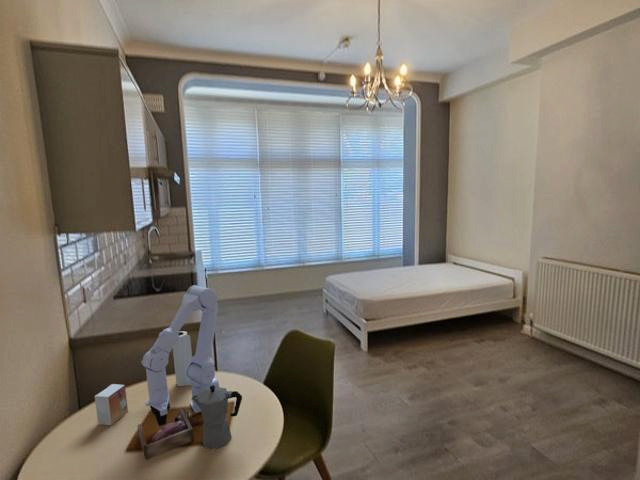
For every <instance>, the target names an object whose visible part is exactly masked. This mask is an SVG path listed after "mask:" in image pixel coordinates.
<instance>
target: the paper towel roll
mask: <svg viewBox="0 0 640 480" xmlns="http://www.w3.org/2000/svg"><path fill="white" fill-rule="evenodd" d="M178 334H179V338H178V340H177V342H176V343H175V345H174V347H173V348H172V353H173V354H172V355H173V356H172V357H173V364H174V373H175V374H174V375H175V381H176V382H175V383H176V385H177V386H178V387H185V386H186V387H187V386H191V382H190V378H189V377H187V375H186V369H187V367H188V365H189V363H190V359H191V358H192V357H193V352H192V341H191V335H190V334H189V335H188V331H185V330H184V331H182V330H181V331H180V330H179V332H178Z"/></svg>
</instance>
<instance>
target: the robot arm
mask: <svg viewBox="0 0 640 480" xmlns="http://www.w3.org/2000/svg"><path fill="white" fill-rule="evenodd" d="M218 296H219V295H218V293H217V292H216V291H215V290H214V289H213V288H210V287H208V288H207V287H203V286H200V285H197V284H194V285H191V286H190V287H188V289H187V291H186V293H185V294H184V295H183V298H182V303H181V305H180V306H179V308H178V310H177V312H176V314H175V316H174V318H173V320H172V321H171V323H170V325H169V327H167V328H164V329H162V331H161V332H159V334H158V337H157V339H156V341H155V342H154V344H153V345H152V347H151V348H150V349H149V350H148V351H147V352H146V353H145V354H144V355H143V357H142V360H141V362H140V363H141V365H142V366H143V367H144V368H145V370H146V371H145V372H146V383H147V390H148V399H149V400H147V401H145V406H147V407H149V408H150V411H151V412H152V414H153V415H154V417H155V419H156V422H157V425H158V427H162V426H166V425H167V418H168V413H169V410H170V409H171V403H170V402H169V401H170V395H169V388H168V379H167V378H168V377H167V372H166V371H167V370H166V367H167V366H168V364H169V356H170V354H171V351H173V347H174V345H175V343H176V342H177V340H178V338H179V334H178V332H180V330H181V329H182V328H183V326H184V324H185V323H186V322H187V320H188V319H189V317H190V316H191V315H192V313H194V312H196V311H201V317H200V325H199V331H198V334H197V335H198V336H197V342H196V348H195V354H194V355H192V358H191V359H190V363H189V365H188V367H187V369H186V375H187V377H189V378H190V382H191V384H190V388H191V398H192V397H193V396H195V395H197V394H200V393H202V392H203V391H204V390H207V389H210V386H212V385H214V386H215V387H220V384H219V381H218V378H217V377H216V372H215V371H216V370H215V362H214V360H213V358H212V356H211V355H212V350H213V345H214V339H215V332H216V327H217V321H218V320H217V319H218V314H219V304H218ZM189 404H190V406H191V408H192V409H193V410H192V411H193V413H195V414H199V413H202V412H201V409H200V407H199V406H198V405H197V404H196V403H195V401H194V400H191V401H189Z"/></svg>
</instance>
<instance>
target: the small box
mask: <svg viewBox="0 0 640 480" xmlns="http://www.w3.org/2000/svg"><path fill="white" fill-rule="evenodd" d="M94 404H95V410H96V417H97V424H98V425H102V426H103V425H106V426H113V425H114V424H115V423H116V422H118V421H119V419H121V418H122V417H124V416H125V415H126V414H127V413H128V412H129V408H128V400H127V391H126V385H125V384H116V383H111V384H109V386H107V387H106V388H105V389H103V390H101V391H100V392H99V393H97V394H96V395H94Z"/></svg>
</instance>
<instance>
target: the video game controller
mask: <svg viewBox="0 0 640 480" xmlns="http://www.w3.org/2000/svg"><path fill="white" fill-rule="evenodd" d="M185 428H186V425H185V423H184V422H183V421H181V419H179V420H178V421H175V422H170V423H166V424H165V425H164V427H162V428H161V429H158V431H156V432H154V435H153V436H151V439H150V440H151V443H153V442H155V441H158V440H161V439H163V438H166V437H168V436H171V435H173V434H176V433H178V432H181V431H183V430H185Z"/></svg>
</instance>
